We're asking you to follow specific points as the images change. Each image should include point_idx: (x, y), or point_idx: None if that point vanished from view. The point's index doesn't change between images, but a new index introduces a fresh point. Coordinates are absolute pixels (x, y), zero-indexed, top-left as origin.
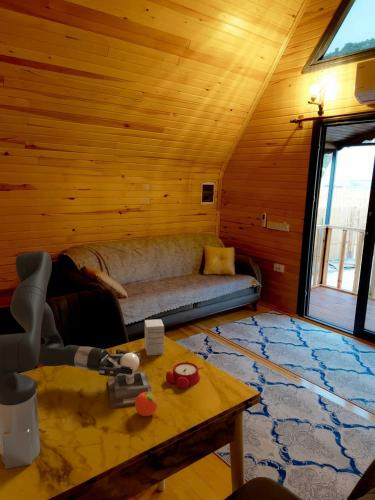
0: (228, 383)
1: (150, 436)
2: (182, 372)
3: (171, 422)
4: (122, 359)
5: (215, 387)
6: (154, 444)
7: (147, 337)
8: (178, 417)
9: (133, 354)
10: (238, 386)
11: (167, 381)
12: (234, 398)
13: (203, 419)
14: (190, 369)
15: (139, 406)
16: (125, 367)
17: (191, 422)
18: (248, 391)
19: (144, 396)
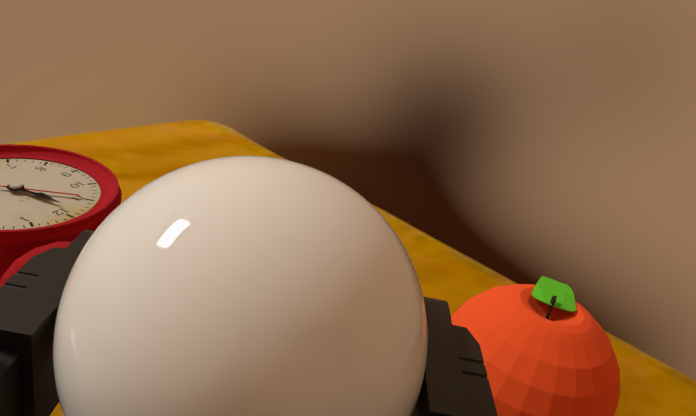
0: (121, 144)
1: (653, 395)
2: (55, 205)
3: None
4: (378, 331)
5: (154, 175)
6: (684, 375)
7: None
8: (442, 295)
9: (260, 157)
10: (151, 131)
11: None
12: (243, 152)
13: (414, 230)
14: (22, 174)
15: (619, 385)
16: (452, 358)
17: (453, 260)
18: (190, 123)
19: (581, 314)
